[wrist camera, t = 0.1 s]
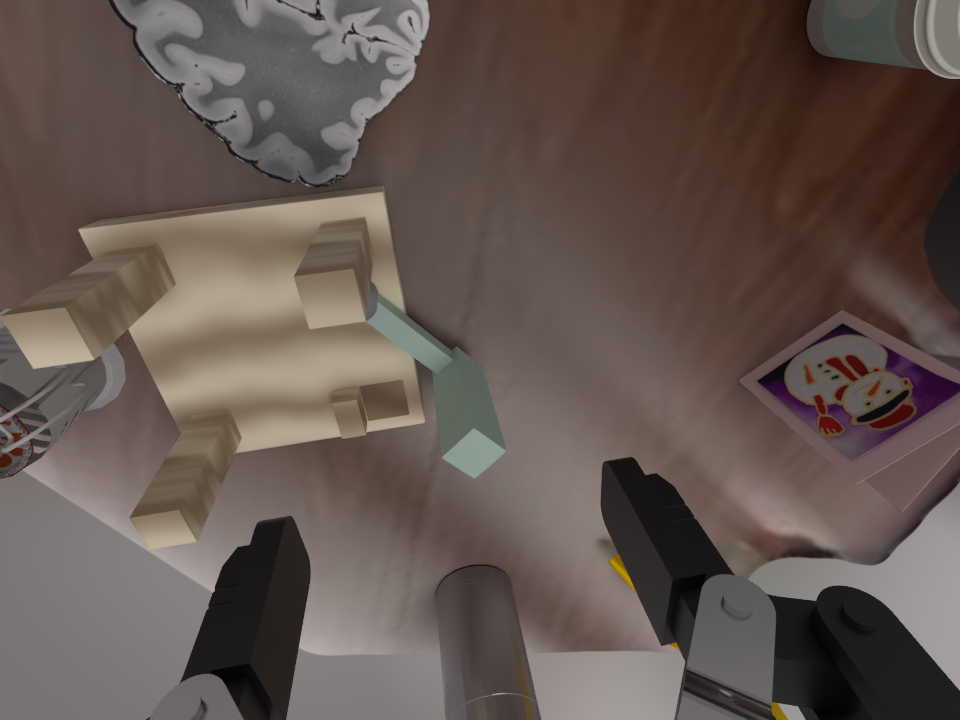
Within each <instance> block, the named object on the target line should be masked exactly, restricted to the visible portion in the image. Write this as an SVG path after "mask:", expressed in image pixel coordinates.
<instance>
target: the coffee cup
mask: <svg viewBox="0 0 960 720" xmlns="http://www.w3.org/2000/svg"><path fill="white" fill-rule="evenodd" d="M807 34H808V38H809V41H810V43H811V45H812V46H813V48H814V49H815V50H816V51H817V52H818V53H820V54H822V55H824V56H828V57H835V58H843V59H850V60H857V61H865V62H873V63H881V64H888V65H896V66H904V67H912V68H919V69H928V70H930V71H932V72H933V73H935V74H936V75H939V76H941V77H945V78H951V79H958V78H960V0H811V3H810V6H809V10H808V14H807Z"/></svg>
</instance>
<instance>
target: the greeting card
mask: <svg viewBox="0 0 960 720" xmlns="http://www.w3.org/2000/svg"><path fill="white" fill-rule="evenodd" d="M738 381H739V382H740V383H741V384H743V385H744V386H745V387H746V388H747V389H748V390H749V391H750V392H752V393H753V394H754V395H755V396H756V397H757V398H758V399H759V400H761V401H762V402H763V403H764V404H765V405H766V406H767V407H768V408H770V409H771V410H772V411H773V412H774V413H775V414H776V415H777V416H779V417H780V418H781V419H782V420H783V421H784V422H785V423H786V424H788V425H789V426H790V427H791V428H792V429H793V430H794V431H795V432H797V433H798V434H799V435H800V436H801V437H802V438H803V439H804V440H806V441H807V442H808V443H809V444H810V445H811V446H812V447H813V448H815V449H816V450H817V451H818V452H819V453H820V454H821V455H822V456H824V457H825V458H826V459H827V460H828V461H829V462H830V463H831V464H832V465H834V466H835V467H836V468H837V469H838V470H839V471H840V472H841V473H843V474H844V475H845V476H846V477H847V478H848V479H849V480H850V481H852V482H853V483H854V484H855V485H857V484H858V483H860V482H862V481H864V480H865V481H866V482H867V483H869V484H870V485H871V486H872V487H873V488H874V489H876V490H877V491H878V492H879V493H880V494H881V495H882V496H884V497H885V498H886V499H887V500H888V501H889V502H891V503H892V504H893V505H894V506H895V507H896V508H898V509H899V510H900V511H901V512H903V511H904V509H905V508H906V507H907V506H908V505H909V504H910V503H911V502H912V500H913V499H914V498H915V497H916V496H917V495H918V494H919V493H920V492H921V490H922V489H923V488H924V487H925V486H926V485H927V484H928V483H929V482H930V480H931V479H932V478H933V477H934V476H935V475H936V474H937V473H938V472H939V470H940V469H941V468H942V467H943V466H944V465H945V464H946V463H947V462H948V460H949V459H950V458H951V457H952V456H953V455H954V454H955V453H956V451H957V450H958V449H959V448H960V371H958V370H956V369H954V368H952V367H950V366H948V365H946V364H945V363H943V362H941V361H939V360H937V359H935V358H933V357H931V356H929V355H927V354H926V353H924V352H922V351H920V350H918V349H916V348H914V347H912V346H910V345H908V344H906V343H904V342H903V341H901V340H899V339H897V338H895V337H893V336H891V335H889V334H887V333H885V332H883V331H882V330H880V329H878V328H876V327H874V326H872V325H870V324H868V323H866V322H864V321H862V320H860V319H859V318H857V317H855V316H853V315H851V314H849V313H847V312H845V311H843V310H841V311H839V312H838V313H837V314H835V315H834V316H832V317H831V318H829V319H828V320H826V321H825V322H823V323H822V324H820V325H819V326H817V327H816V328H814V329H813V330H812V331H810V332H809V333H807V334H806V335H804V336H803V337H801V338H800V339H798V340H797V341H795V342H794V343H792V344H791V345H789V346H788V347H787V348H785V349H784V350H782V351H781V352H779V353H778V354H776V355H775V356H773V357H772V358H770V359H769V360H767V361H766V362H764V363H763V364H761V365H760V366H759V367H757V368H756V369H754V370H753V371H751V372H750V373H748V374H747V375H745V376H744V377H742V378H741V379H739V380H738Z"/></svg>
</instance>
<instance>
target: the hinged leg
mask: <svg viewBox="0 0 960 720" xmlns="http://www.w3.org/2000/svg"><path fill="white" fill-rule="evenodd" d="M365 322H367V323H368V324H370V325H371V326H372V327H374V328H375V329H376V330H378V331H379V332H380V333H382V334H383V335H384V336H386V337H387V338H388V339H390V340H391V341H392V342H394V343H395V344H397V345H398V346H399V347H401V348H402V349H403V350H405V351H406V352H407V353H409V354H410V355H411V356H413V357H414V358H415V359H417V360H418V361H419V362H421V363H422V364H424V365H425V366H426V367H428V368H429V369H430V370H431V371H432V379H433V388H434V397H435V405H436V414H437V423H438V431H439V440H440V449H441V457H442V458H443V459H444V460H446V461H447V462H449V463H451V464H452V465H454V466H455V467H457V468H458V469H460V470H461V471H463V472H465V473H466V474H468V475H469V476H471V477H472V478H474V479H475V478H476V477H478V476H479V475H480V474H481V473H482V472H483V471H485V470H486V469H487V468H488V467H489V466H490V465H491V464H493V463H494V462H495V461H496V460H497V459H498V458H500V457H501V456H502V455H503V454H504V453H505V452H506V447H505V444H504V440H503V437H502V433H501V430H500V427H499V423H498V420H497V416H496V413H495V409H494V406H493V403H492V399H491V396H490V392H489V389H488V386H487V382H486V379H485V375H484V372H483V368H482V366H481V365H479V364H478V363H477V362H476V361H474V360H473V359H472V358H471V357H469V356H468V355H467V354H466V353H464V352H463V351H462V350H461V349H459V348H458V347H457V346H456V347H455V348H454V349H453V350H452V351H451V350H450V349H449V348H447V347H446V346H445V345H443V344H442V343H441V342H440V341H438V340H437V339H436V338H435V337H433V336H432V335H431V334H429V333H428V332H427V331H426V330H424V329H423V328H422V327H420V326H419V325H418V324H417V323H415V322H414V321H413V320H412V319H410V318H409V317H408V316H406V315H405V314H404V313H403V312H401V311H400V310H399V309H398V308H396V307H395V306H394V305H392V304H391V303H390V302H389V301H387V300H386V299H385V298H383V297H382V296H381V295H380V294H378V291H377V288H376V286H375V285H374V284H373V283H372V282H371V284H370V291H369V299H368V307H367V314H366V321H365Z"/></svg>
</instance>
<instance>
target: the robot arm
mask: <svg viewBox="0 0 960 720" xmlns="http://www.w3.org/2000/svg"><path fill="white" fill-rule="evenodd" d="M601 511H602V516H603V520H604V523H605V526H606V528H607V530H608V532H609V534H610V536H611V539H612V541H613V543H614V545H615V547H616V549H617V552H618V554H619V556H620V558H621V560H622V562H623V564H624V567H625V569H626V571H627V573H628V575H629V577H630V579H631V582H632V584H633V586H634V588H635V590H636V592H637V594H638V597H639V599H640V601H641V603H642V605H643V607H644V610H645V612H646V614H647V616H648V618H649V620H650V622H651V625H652V627H653V629H654V631H655V633H656V635H657V637H658V640H659V642H660V644H661V646H663V645H667V644H672V643H677V645H678V647H679V649H680V651H681V653H682V656H683V658H684V660H685V667H684V672H683V677H682V683H681V688H680V693H679V698H678V704H677V709H676V714H675V719H674V720H776V718H775V716H773V715H772V702H775V703H782V704H787V705H794V706H798V707H799V709H800V711H801V712H802V714H803V716H804V717H805V719H806V720H960V691H959V689H958V688H957V687H956V686H955V685H954V684H953V682H952V681H951V680H950V679H949V678H948V677H947V675H946V674H945V673H944V672H943V671H942V670H941V668H940V667H939V666H938V665H937V664H936V663H935V661H934V660H933V659H932V658H931V657H930V656H929V654H928V653H927V652H926V651H925V650H924V649H923V647H922V646H921V645H920V644H919V643H918V642H917V641H916V639H915V638H914V637H913V636H912V635H911V633H910V632H909V631H908V630H907V629H906V628H905V626H904V625H903V624H902V623H901V622H900V621H899V619H898V618H897V617H896V616H895V615H894V614H893V612H892V611H891V610H890V609H889V608H888V607H887V606H886V605H884V604H883V603H882V602H881V601H879V600H878V599H876V598H875V597H873V596H871V595H870V594H868V593H866V592H863V591H861V590H859V589H856V588H852V587H848V586H832V587H828V588H825V589H824V590H822V591H821V592H820V594H819V595H818V598H817V600H816V601H811V600H802V599H794V598H786V597H777V596H772V595H768V594H766V593H765V592H764V591H763V590H762V589H761V588H760V587H758V586H757V585H756V584H754V583H753V582H751V581H749V580H747V579H745V578H742V577H739V576H736V575H735V574H734V573H733V572H732V571H731V570H730V568H729V567H728V565H727V564H726V562H725V561H724V559H723V558H722V557H721V555H720V554H719V552H718V551H717V549H716V548H715V546H714V545H713V543H712V542H711V540H710V539H709V537H708V536H707V534H706V533H705V531H704V530H703V529H702V527H701V526H700V524H699V523H698V521H697V520H696V519H694V515H693V514H692V512H691V511H690V509H689V508H688V506H686V505H685V502H684V500H683V499H682V498H681V496H680V495H679V493H678V492H677V490H676V489H675V487H674V486H673V485H672V484H670V483H669V482H667V481H666V480H665V479H663V478H662V477H661V476H659V475H658V474H657V473H656V474H650V475H645V474H644V473H643V471H642V469H641V468H640V466H639V465H638V463H637V461H636V460H635V459H634V458H633V457H628V458H622V459H616V460H610V461H605V462H604V463H603V466H602V484H601ZM310 575H311V571H310V561H309V556H308V553H307V551H306V548H305V546H304V543H303V541H302V538H301V536H300V533H299V531H298V528H297V526H296V523H295V521H294V519H293V517H292V516H287V517H281V518H275V519H269V520H263V521H259V522H258V523H257V525H256V527H255V530H254V533H253V537H252V540H251V543H250V545H247V546H242V547H237V549H236V550H235V551H234V552H233V554H232V555H231V556H230V558H229V559H228V560H227V561H226V563H225V564H224V565H223V567H222V569H221V572H220V574H219V577H218V580H217V583H216V586H215V592H213V594H212V597H211V600H210V602H209V605H208V606H209V609H208V610H207V611H206V613H205V616H204V619H203V622H202V625H201V627H200V630H199V633H198V636H197V638H196V641H195V644H194V647H193V650H192V653H191V655H190V658H189V661H188V664H187V666H186V669H185V672H184V675H183V677H182V680H181V682H180V683H179V684H178V685H177V686H175V687H174V688H173V689H172V690H171V691H169V692H168V693H167V694H166V695H165V696H164V697H163V699H162V700H161V701H160V703H159V704H158V705H157V707H156V708H155V710H154V711H153V713H152V715H151V717H149V718H148V719H146V720H286V717H287V711H288V705H289V699H290V694H291V688H292V682H293V676H294V671H295V664H296V659H297V653H298V648H299V642H300V636H301V630H302V625H303V619H304V613H305V607H306V602H307V596H308V590H309V584H310ZM436 598H437V612H438V627H439V640H440V653H441V666H442V679H443V692H444V706H445V719H446V720H541V716H540V712H539V708H538V704H537V699H536V695H535V690H534V685H533V681H532V676H531V672H530V667H529V663H528V658H527V654H526V649H525V645H524V640H523V636H522V631H521V627H520V622H519V618H518V613H517V608H516V604H515V599H514V595H513V590H512V586H511V582H510V579H509V577H508V576H507V575H506V574H505V573H504V572H502V571H501V570H499V569H496V568H494V567H489V566H472V567H467V568H463V569H461V570H458V571H456V572H454V573H452V574H450V575H449V576H448V577H446V578H445V579H444V580H443V581H442V582H441V584H440V585H439V587H438V589H437V594H436Z"/></svg>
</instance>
